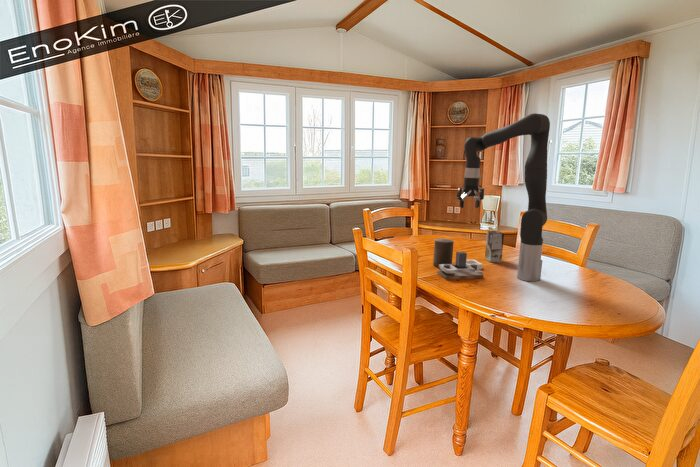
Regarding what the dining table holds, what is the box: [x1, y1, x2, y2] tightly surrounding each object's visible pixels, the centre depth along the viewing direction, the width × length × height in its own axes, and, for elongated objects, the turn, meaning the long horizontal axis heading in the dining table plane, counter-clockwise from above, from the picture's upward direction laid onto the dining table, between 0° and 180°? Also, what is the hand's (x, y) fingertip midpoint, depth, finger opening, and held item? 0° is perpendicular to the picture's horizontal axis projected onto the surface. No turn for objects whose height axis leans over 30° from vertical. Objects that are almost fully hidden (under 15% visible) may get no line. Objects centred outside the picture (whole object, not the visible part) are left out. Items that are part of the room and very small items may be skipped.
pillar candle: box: [432, 238, 455, 268], centre depth 195 cm, size 10×10×15 cm
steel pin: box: [454, 251, 468, 269], centre depth 179 cm, size 4×4×10 cm
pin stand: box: [466, 259, 483, 270], centre depth 194 cm, size 9×9×2 cm
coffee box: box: [484, 230, 505, 263], centre depth 206 cm, size 9×6×16 cm
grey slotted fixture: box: [436, 263, 484, 281], centre depth 180 cm, size 19×10×6 cm, turn 100°
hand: (469, 207), depth 197 cm, fingers open, 8 cm apart
